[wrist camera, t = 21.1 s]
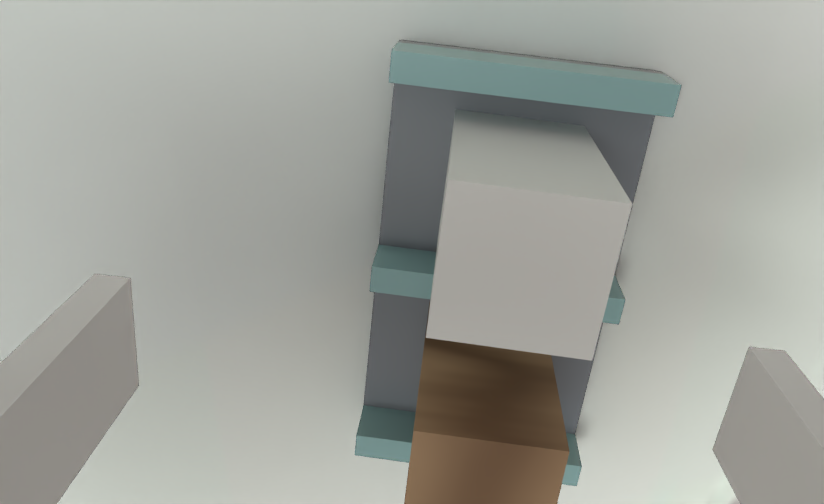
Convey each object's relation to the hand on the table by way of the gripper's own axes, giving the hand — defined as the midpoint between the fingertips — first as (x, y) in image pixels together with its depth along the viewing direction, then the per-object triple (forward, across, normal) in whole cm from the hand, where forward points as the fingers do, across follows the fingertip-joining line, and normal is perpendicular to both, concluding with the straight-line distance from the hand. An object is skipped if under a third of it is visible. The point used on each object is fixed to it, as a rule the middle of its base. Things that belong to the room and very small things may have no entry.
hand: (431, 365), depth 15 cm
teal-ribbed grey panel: (+12, +2, -3) cm, 13 cm away
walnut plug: (+11, +2, -7) cm, 14 cm away
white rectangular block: (+11, +2, +1) cm, 12 cm away
